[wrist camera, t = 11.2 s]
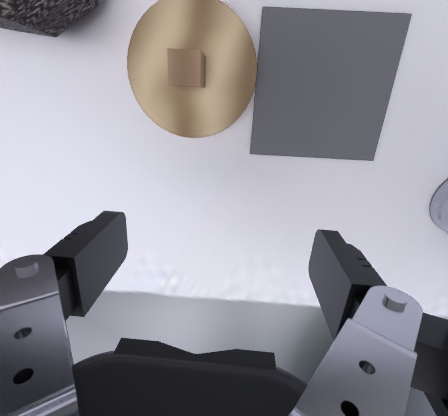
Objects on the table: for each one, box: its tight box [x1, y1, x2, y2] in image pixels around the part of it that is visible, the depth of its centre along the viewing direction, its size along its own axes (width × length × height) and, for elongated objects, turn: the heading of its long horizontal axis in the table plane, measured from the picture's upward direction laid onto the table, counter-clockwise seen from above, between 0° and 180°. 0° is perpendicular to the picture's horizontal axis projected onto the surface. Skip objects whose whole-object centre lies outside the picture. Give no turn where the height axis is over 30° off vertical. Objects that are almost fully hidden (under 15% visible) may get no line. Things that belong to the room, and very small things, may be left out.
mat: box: [250, 7, 412, 161], centre depth 33 cm, size 16×16×1 cm
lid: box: [127, 0, 257, 138], centre depth 26 cm, size 13×13×5 cm
